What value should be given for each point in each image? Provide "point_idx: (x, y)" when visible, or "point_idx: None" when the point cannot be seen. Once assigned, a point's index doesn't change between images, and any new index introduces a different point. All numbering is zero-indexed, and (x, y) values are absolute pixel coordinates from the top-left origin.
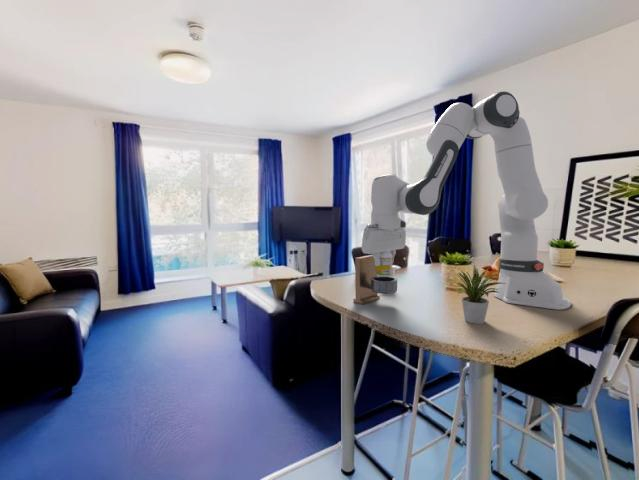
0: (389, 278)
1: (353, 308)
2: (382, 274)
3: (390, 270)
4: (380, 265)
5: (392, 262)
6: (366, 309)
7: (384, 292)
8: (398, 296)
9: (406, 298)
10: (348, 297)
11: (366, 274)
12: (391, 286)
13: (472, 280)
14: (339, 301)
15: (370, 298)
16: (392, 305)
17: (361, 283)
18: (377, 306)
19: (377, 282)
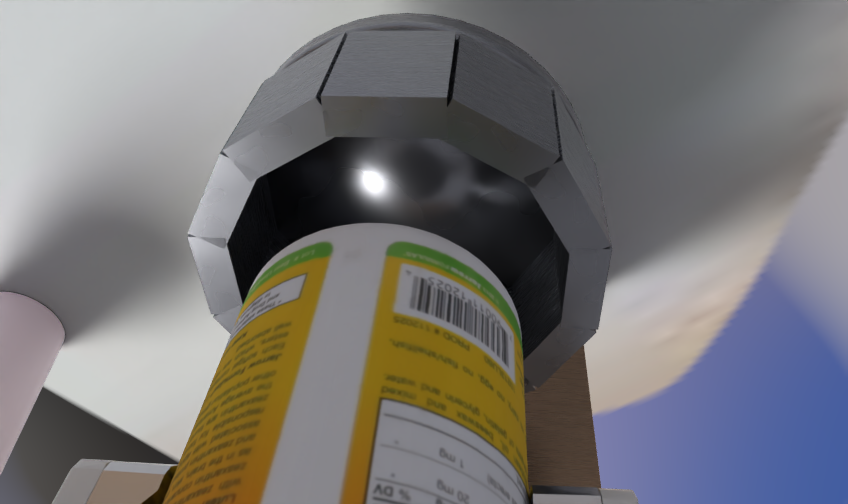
0: (242, 274)
1: (737, 225)
2: (513, 320)
3: (372, 295)
4: (568, 486)
5: (114, 466)
6: (694, 126)
7: (559, 95)
8: (76, 153)
9: (46, 54)
10: None
11: None
12: (476, 70)
13: None
14: (619, 392)
15: None
16: (380, 13)
17: (561, 415)
18: None
19: (603, 261)
